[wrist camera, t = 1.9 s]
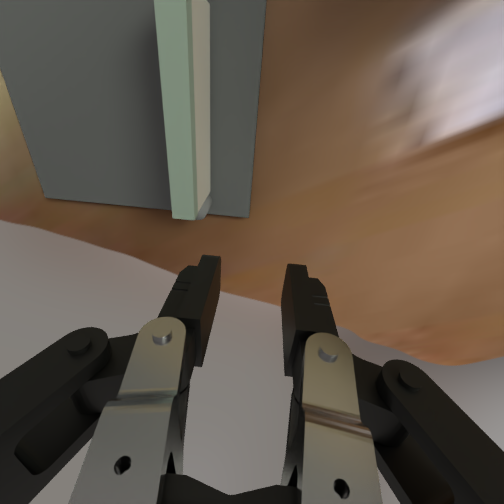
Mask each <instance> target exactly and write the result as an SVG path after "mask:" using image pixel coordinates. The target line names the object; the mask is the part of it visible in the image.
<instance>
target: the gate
mask: <svg viewBox="0 0 504 504" xmlns="http://www.w3.org/2000/svg"><path fill="white" fill-rule="evenodd" d="M154 8H155V20H156V32H157V43H158V55H159V66H160V78H161V89H162V101H163V113H164V124H165V136H166V147H167V159H168V171H169V182H170V194H171V205H172V217H173V218H175V219H185V220H195V219H196V217H197V215H198V212H199V210H200V208H201V206H202V205H203V203H204V201H205V200H206V198H207V196H208V195H209V193H210V4H209V3H208V1H207V0H154Z"/></svg>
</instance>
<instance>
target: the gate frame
mask: <svg viewBox="0 0 504 504" xmlns="http://www.w3.org/2000/svg"><path fill="white" fill-rule="evenodd" d="M207 1H208V3H209V4H210V193H209V195H208V196H207V198H206V200H205V201H204V203H203V205H202V206H201V208H200V210H199V212H198V215H197V217H196V220H201V219H203V218H205V216H206V214H215V215H225V216H236V217H246V218H249V211H250V199H251V187H252V174H253V162H254V150H255V137H256V125H257V113H258V100H259V88H260V75H261V63H262V51H263V38H264V26H265V14H266V1H267V0H207ZM0 69H1V72H2V75H3V77H4V80H5V83H6V86H7V89H8V92H9V95H10V97H11V100H12V103H13V106H14V109H15V112H16V115H17V118H18V120H19V123H20V126H21V129H22V132H23V135H24V138H25V140H26V143H27V146H28V149H29V152H30V155H31V158H32V160H33V163H34V166H35V169H36V172H37V175H38V178H39V181H40V183H41V186H42V189H43V192H44V195H45V198H54V199H64V200H74V201H84V202H94V203H104V204H114V205H124V206H134V207H145V208H155V209H165V210H172V205H171V194H170V182H169V171H168V159H167V147H166V136H165V124H164V113H163V101H162V89H161V78H160V66H159V55H158V43H157V32H156V20H155V8H154V0H0Z"/></svg>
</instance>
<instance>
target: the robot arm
mask: <svg viewBox="0 0 504 504" xmlns="http://www.w3.org/2000/svg"><path fill="white" fill-rule="evenodd" d="M220 277H221V257H220V256H210V255H202V257H201V260H200V262H199V264H198V266H190V265H189V266H187V267H186V268H185V269H184V270H182V271H181V272H180V273H179V275H178V277H177V279H176V282H175V283H174V285H173V287H172V290H171V291H170V293H169V295H168V297H167V299H166V301H165V303H164V306H163V308H162V309H161V311H160V314H159V316H158V318H156V319H154V320H151V321H150V322H148V323H147V324H146V325H144V326H143V327H142V328H141V330H140V331H139V333H136V334H133V335H129V336H122V337H116V338H109V339H108V336H107V334H106V332H104V331H103V330H102V329H99V328H94V327H87V328H82V329H78V330H75V331H73V332H71V333H69V334H67V335H66V336H64V337H62V338H61V339H59V340H58V341H56V342H55V343H54V344H52V345H50V346H49V347H48V348H46V349H45V350H43V351H42V352H40V353H39V354H37V355H36V356H34V357H33V358H31V359H30V360H28V361H27V362H25V363H24V364H22V365H21V366H19V367H18V368H16V369H15V370H13V371H12V372H10V373H9V374H7V375H6V376H4V377H3V378H1V379H0V504H29V503H30V502H31V501H32V499H33V498H34V497H35V496H36V495H37V494H38V493H39V492H40V491H41V490H42V489H43V488H44V487H45V486H46V485H47V484H48V483H49V482H50V481H51V480H52V479H53V477H54V476H55V475H56V474H57V473H58V472H59V471H60V470H61V469H62V468H63V467H64V466H65V465H66V464H67V463H68V462H69V461H70V460H71V459H72V458H73V457H74V456H75V455H76V453H78V451H79V450H80V449H81V448H82V447H83V446H84V445H85V444H86V443H87V442H88V441H89V440H90V439H91V438H92V437H93V438H92V440H91V443H90V446H89V449H88V451H87V454H86V457H85V460H84V462H83V465H82V468H81V471H80V473H79V476H78V479H77V482H76V484H75V487H74V490H73V492H72V495H71V498H70V501H69V503H68V504H383V502H382V496H381V489H380V483H379V476H378V470H377V467H378V469H379V470H380V472H381V474H382V475H383V477H384V478H385V480H386V481H387V483H388V485H389V486H390V488H391V489H392V491H393V492H394V494H395V496H396V497H397V499H398V501H399V502H400V504H504V452H503V451H502V450H501V449H500V448H499V447H498V446H497V445H496V443H494V441H492V440H491V438H489V436H488V435H487V434H485V432H484V431H483V430H481V429H480V428H479V426H478V425H477V424H475V422H474V421H473V420H472V419H470V417H468V415H467V414H465V412H464V411H463V410H461V408H460V407H459V406H458V405H457V404H456V403H455V402H454V401H453V400H452V399H451V398H450V397H449V396H448V395H447V394H446V393H445V392H444V391H443V390H442V389H441V388H440V387H439V386H438V385H437V384H436V383H435V382H434V381H433V380H432V379H431V378H430V377H429V376H428V375H427V374H426V373H424V372H423V371H422V370H421V369H420V368H418V367H417V366H415V365H413V364H411V363H409V362H406V361H403V360H390V361H388V362H386V363H385V364H384V366H383V367H381V366H379V365H376V364H373V363H371V362H368V361H365V360H363V359H361V358H359V357H357V356H355V355H354V354H352V353H351V350H350V348H349V347H348V346H347V344H346V343H345V342H344V341H342V340H341V339H340V338H339V336H338V332H337V329H336V325H335V321H334V318H333V314H332V311H331V307H330V303H329V300H328V298H327V297H328V296H327V292H326V289H325V287H324V285H323V284H322V283H321V282H320V281H319V279H318V278H309V277H308V272H307V267H306V265H298V264H288V265H287V269H286V274H285V280H284V285H283V291H282V299H281V311H282V330H283V331H282V332H283V352H284V372H285V376H291V377H293V391H292V394H291V403H290V413H289V424H288V434H287V445H286V454H285V462H284V467H283V473H282V479H281V485H274V486H270V487H265V488H261V489H257V490H253V491H249V492H244V493H240V494H236V495H227V494H225V493H223V492H221V491H219V490H216V489H214V488H212V487H210V486H208V485H206V484H204V483H202V482H200V481H198V480H195V479H193V478H191V477H189V476H187V475H183V448H184V436H185V427H186V417H187V407H188V397H189V388H190V379H191V375H192V372H193V368H194V366H198V367H202V365H203V361H204V356H205V353H206V349H207V344H208V340H209V336H210V332H211V328H212V324H213V320H214V316H215V312H216V307H217V304H218V300H219V294H220Z"/></svg>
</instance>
